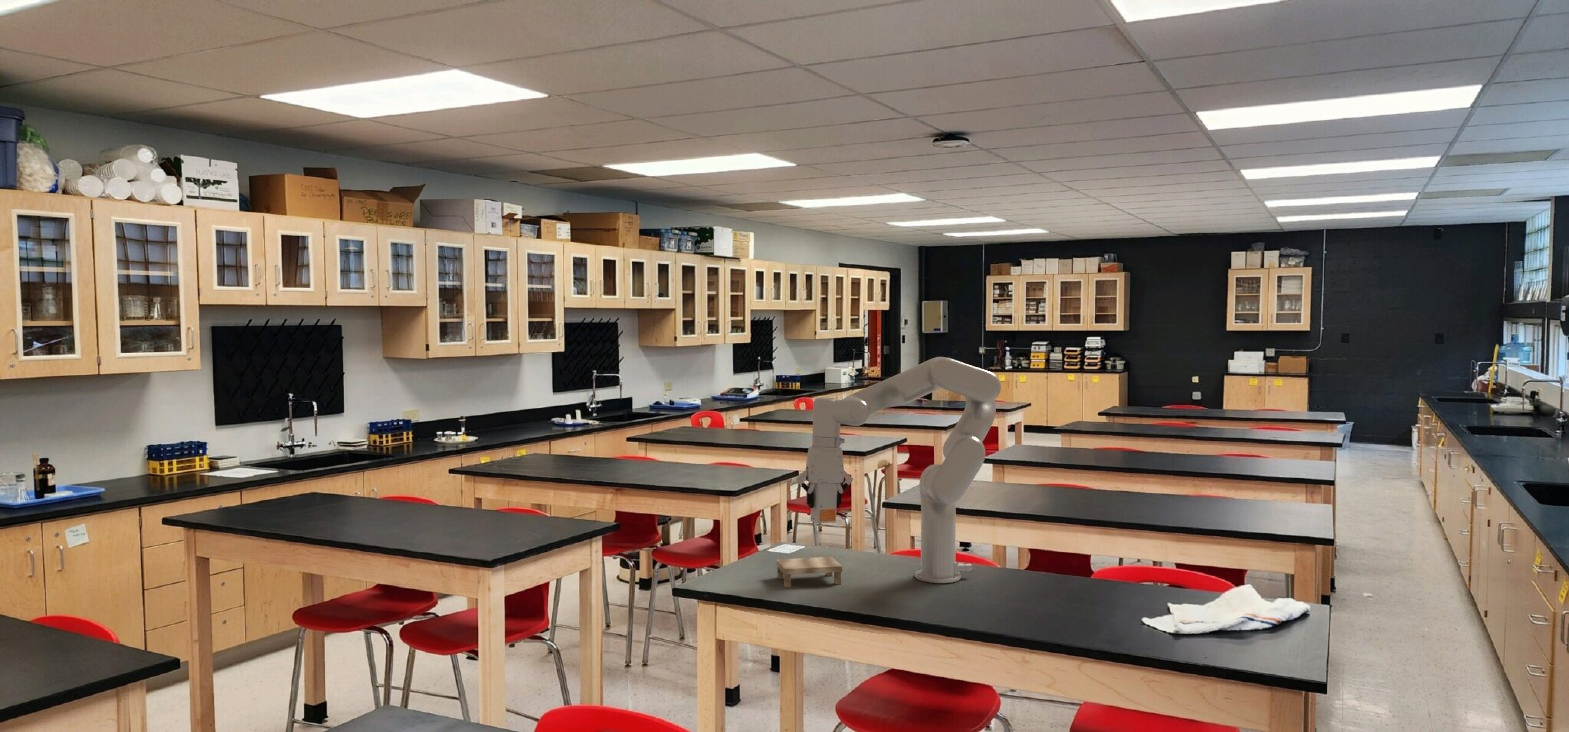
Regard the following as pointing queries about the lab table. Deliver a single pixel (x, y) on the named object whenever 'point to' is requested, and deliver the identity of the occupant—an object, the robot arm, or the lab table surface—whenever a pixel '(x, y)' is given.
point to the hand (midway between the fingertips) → (823, 506)
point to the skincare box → (824, 502)
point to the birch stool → (808, 568)
